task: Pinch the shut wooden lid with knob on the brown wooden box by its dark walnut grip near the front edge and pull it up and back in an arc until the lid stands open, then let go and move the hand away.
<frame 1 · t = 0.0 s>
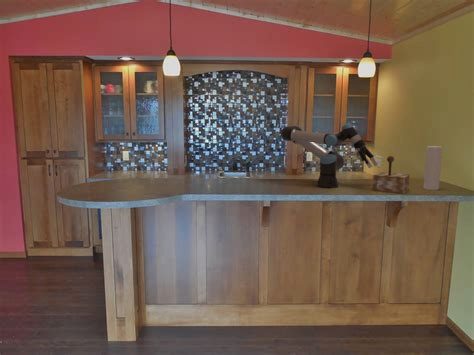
hand: (373, 166, 248), 15 cm above the countertop, tool tilted 35°, fingers open, 13 cm apart
brown wooden box: (390, 190, 239), on the countertop
cylinder container: (431, 188, 243), on the countertop
wooden lid with knob: (391, 165, 237), point 17 cm above the countertop, hinge at 0.0°
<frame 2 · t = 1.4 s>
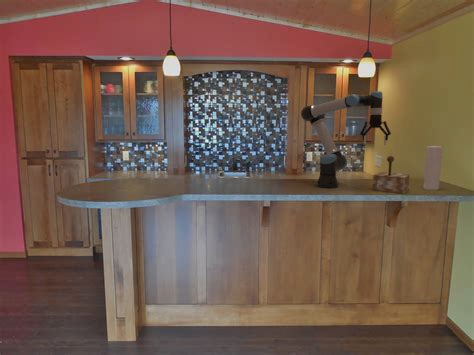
hand: (374, 145, 243), 31 cm above the countertop, tool pointing down, fingers open, 13 cm apart
nothing on the countertop moved.
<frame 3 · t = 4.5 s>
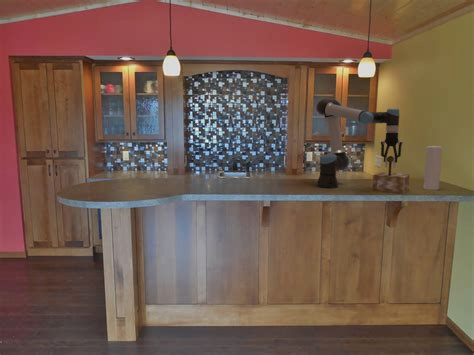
hand: (390, 167, 233), 17 cm above the countertop, tool pointing down, fingers closed on wooden lid with knob, 4 cm apart
wooden lid with knob: (391, 165, 237), point 17 cm above the countertop, hinge at 0.0°, touching gripper
everything else where it was.
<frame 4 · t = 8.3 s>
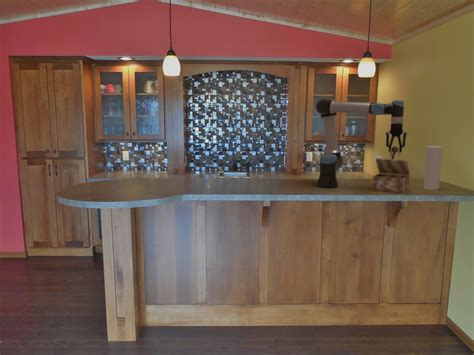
hand: (394, 156, 241), 23 cm above the countertop, tool pointing down, fingers closed on wooden lid with knob, 4 cm apart
wooden lid with knob: (394, 159, 242), point 21 cm above the countertop, hinge at 42.8°, touching gripper
everything else where it was.
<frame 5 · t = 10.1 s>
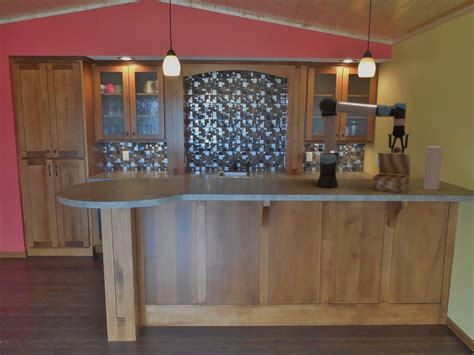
hand: (397, 157, 248), 21 cm above the countertop, tool pointing down, fingers closed on wooden lid with knob, 4 cm apart
wooden lid with knob: (396, 159, 245), point 20 cm above the countertop, hinge at 66.6°, touching gripper
everything else where it was.
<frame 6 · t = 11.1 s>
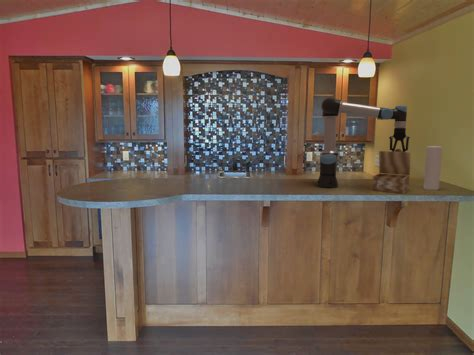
hand: (398, 160, 251), 19 cm above the countertop, tool pointing down, fingers closed on wooden lid with knob, 4 cm apart
wooden lid with knob: (396, 160, 247), point 20 cm above the countertop, hinge at 78.5°, touching gripper
everything else where it was.
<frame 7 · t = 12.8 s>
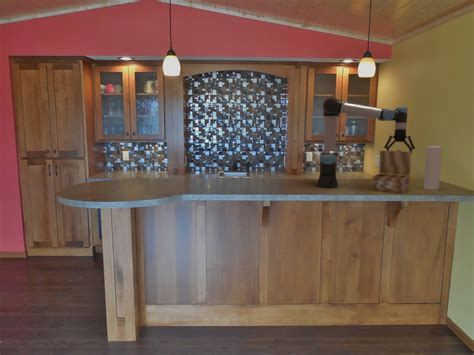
hand: (398, 158, 252), 20 cm above the countertop, tool pointing down, fingers open, 13 cm apart
wooden lid with knob: (396, 161, 248), point 19 cm above the countertop, hinge at 85.0°
everything else where it was.
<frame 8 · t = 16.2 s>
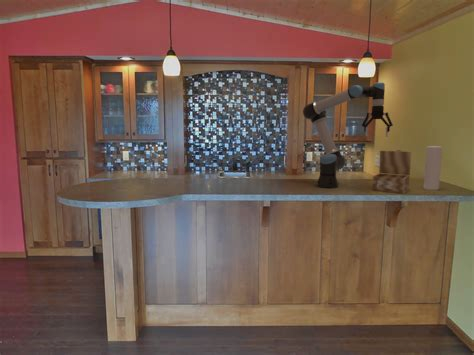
hand: (376, 136, 243), 37 cm above the countertop, tool pointing down, fingers open, 13 cm apart
nothing on the countertop moved.
at the end: wooden lid with knob at +85° (first picture: +0°); cylinder container moved 0.2 cm from its start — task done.
